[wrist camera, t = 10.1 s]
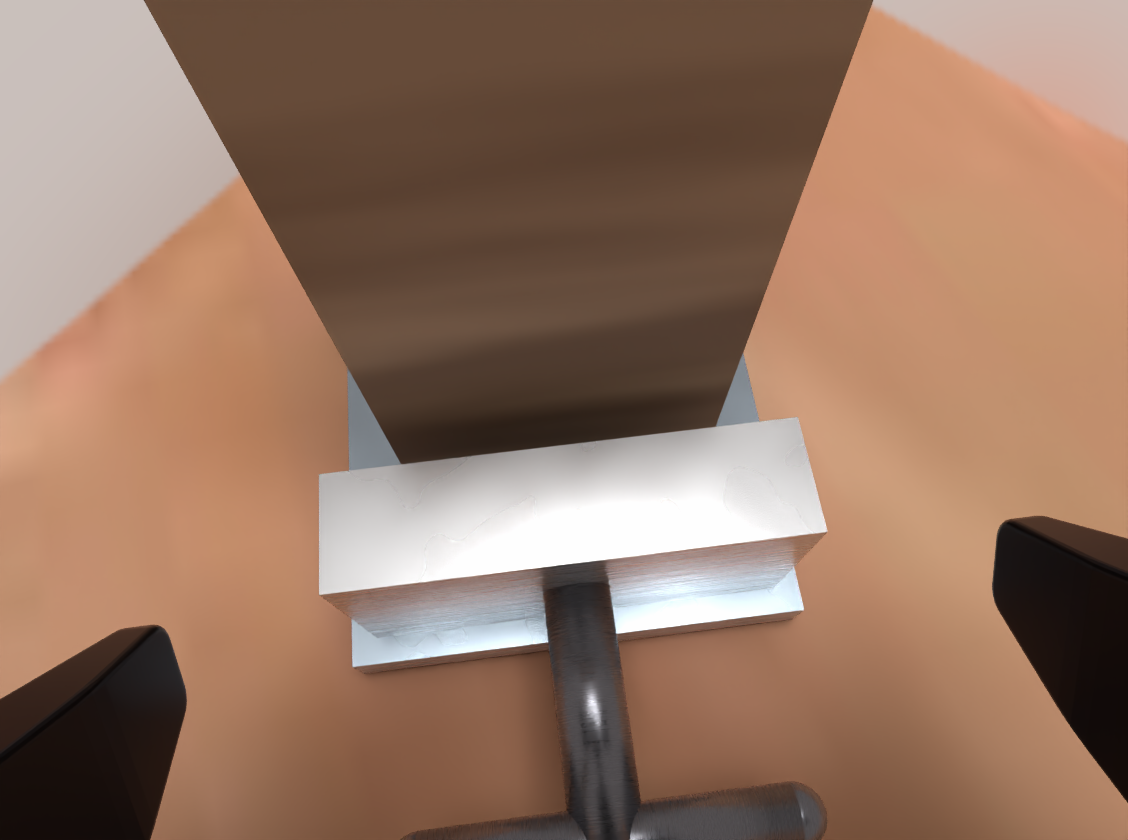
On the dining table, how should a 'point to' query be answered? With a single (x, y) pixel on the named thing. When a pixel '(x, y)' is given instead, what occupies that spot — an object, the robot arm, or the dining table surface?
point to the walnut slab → (525, 193)
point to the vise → (580, 588)
